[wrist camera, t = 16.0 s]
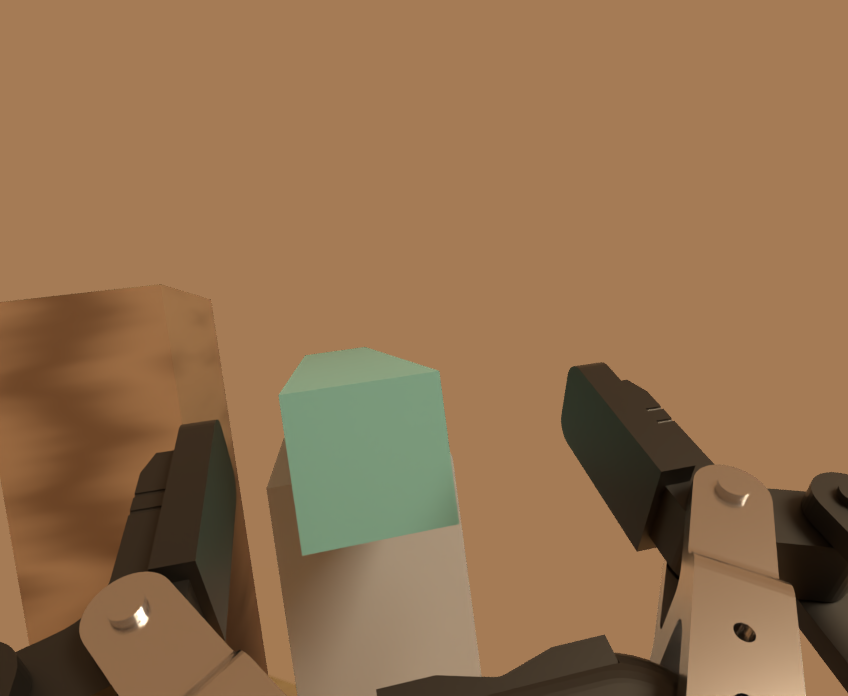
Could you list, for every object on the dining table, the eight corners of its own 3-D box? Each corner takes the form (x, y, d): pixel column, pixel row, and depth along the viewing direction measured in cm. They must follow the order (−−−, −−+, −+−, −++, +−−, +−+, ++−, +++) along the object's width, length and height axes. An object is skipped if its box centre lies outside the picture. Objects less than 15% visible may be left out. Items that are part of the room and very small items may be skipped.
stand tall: (112, 1118, 22) (-30, 305, 20) (176, 874, 32) (85, 314, 30) (281, 1058, 23) (160, 284, 21) (293, 840, 33) (210, 299, 31)
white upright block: (357, 1096, 22) (266, 488, 20) (345, 856, 31) (284, 437, 30) (528, 1031, 23) (452, 455, 22) (465, 820, 33) (410, 417, 31)
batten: (302, 555, 14) (278, 395, 13) (313, 414, 37) (305, 355, 37) (459, 524, 14) (439, 370, 14) (373, 405, 38) (365, 347, 38)
